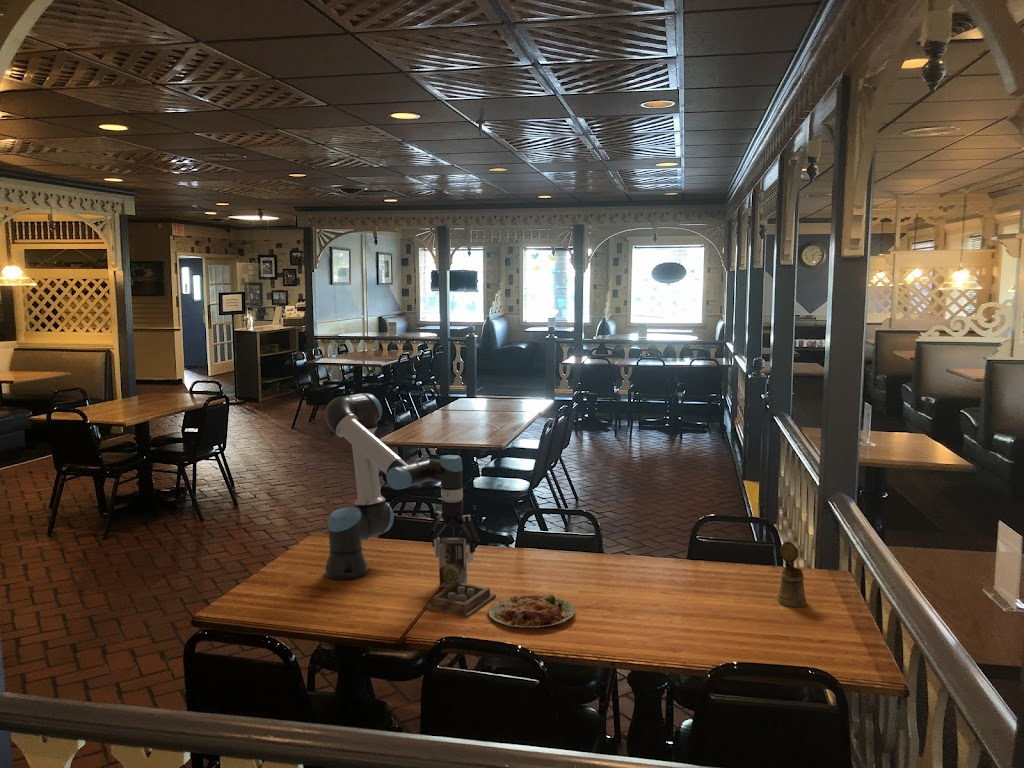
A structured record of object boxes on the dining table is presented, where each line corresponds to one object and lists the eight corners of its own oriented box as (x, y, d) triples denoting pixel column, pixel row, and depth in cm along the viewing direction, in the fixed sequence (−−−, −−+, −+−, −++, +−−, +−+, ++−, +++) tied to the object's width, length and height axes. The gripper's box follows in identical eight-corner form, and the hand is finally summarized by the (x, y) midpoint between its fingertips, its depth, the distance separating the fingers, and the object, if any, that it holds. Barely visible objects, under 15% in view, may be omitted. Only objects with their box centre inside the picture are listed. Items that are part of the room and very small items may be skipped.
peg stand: (425, 608, 257) (424, 597, 257) (455, 588, 274) (455, 578, 274) (467, 617, 250) (467, 605, 250) (496, 596, 267) (496, 586, 266)
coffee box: (467, 581, 281) (467, 537, 279) (464, 588, 275) (464, 543, 273) (442, 580, 282) (441, 536, 280) (438, 587, 276) (438, 542, 274)
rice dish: (476, 609, 260) (475, 593, 259) (551, 592, 271) (550, 577, 270) (509, 643, 235) (508, 626, 234) (591, 624, 245) (590, 607, 245)
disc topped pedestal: (799, 592, 269) (801, 541, 267) (809, 608, 256) (811, 554, 254) (772, 591, 270) (774, 540, 268) (780, 607, 257) (782, 553, 255)
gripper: (416, 498, 277) (418, 557, 280) (477, 506, 266) (479, 567, 268) (428, 493, 284) (429, 551, 286) (488, 500, 273) (490, 560, 275)
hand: (453, 559), depth 277 cm, fingers open, 13 cm apart
